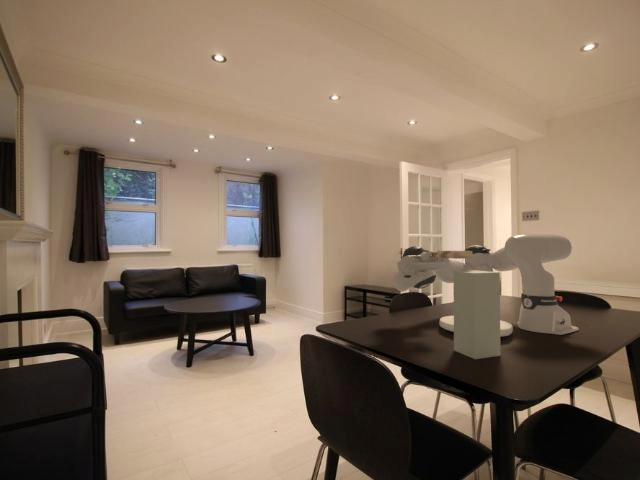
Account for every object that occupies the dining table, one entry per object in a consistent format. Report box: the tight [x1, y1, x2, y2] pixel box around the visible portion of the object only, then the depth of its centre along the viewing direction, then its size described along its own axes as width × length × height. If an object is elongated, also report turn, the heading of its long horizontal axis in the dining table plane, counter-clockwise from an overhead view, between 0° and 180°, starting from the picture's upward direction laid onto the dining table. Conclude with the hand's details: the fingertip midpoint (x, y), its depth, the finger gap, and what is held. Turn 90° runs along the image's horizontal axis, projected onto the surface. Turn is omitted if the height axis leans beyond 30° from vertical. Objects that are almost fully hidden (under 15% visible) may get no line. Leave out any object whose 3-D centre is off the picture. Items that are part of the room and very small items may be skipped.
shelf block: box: [453, 270, 502, 360], centre depth 106 cm, size 10×9×26 cm
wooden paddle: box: [427, 250, 472, 260], centre depth 120 cm, size 18×7×2 cm, turn 19°
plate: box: [438, 315, 514, 338], centre depth 131 cm, size 28×6×27 cm
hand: (435, 253), depth 125 cm, fingers closed on wooden paddle, 2 cm apart
